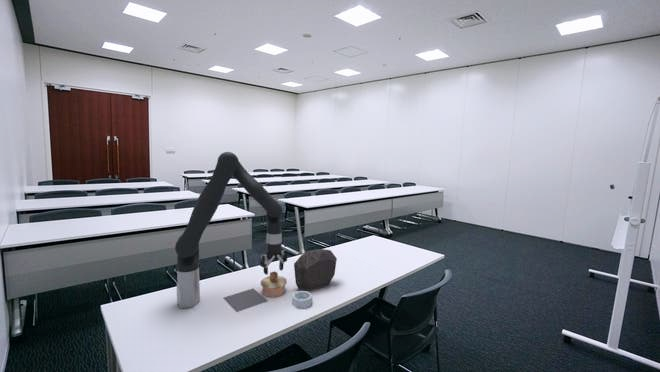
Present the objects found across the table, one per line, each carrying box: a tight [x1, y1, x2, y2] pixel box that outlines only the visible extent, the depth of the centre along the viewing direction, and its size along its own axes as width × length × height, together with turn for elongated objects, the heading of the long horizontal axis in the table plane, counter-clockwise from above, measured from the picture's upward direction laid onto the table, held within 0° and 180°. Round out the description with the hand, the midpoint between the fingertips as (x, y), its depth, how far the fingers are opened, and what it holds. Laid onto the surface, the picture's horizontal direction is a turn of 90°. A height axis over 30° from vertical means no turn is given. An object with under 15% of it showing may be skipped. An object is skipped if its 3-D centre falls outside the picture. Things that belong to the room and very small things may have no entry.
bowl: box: [262, 285, 286, 298], centre depth 158 cm, size 11×11×5 cm
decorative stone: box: [293, 248, 337, 291], centre depth 165 cm, size 24×9×20 cm, turn 123°
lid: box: [260, 271, 288, 289], centre depth 157 cm, size 13×13×5 cm
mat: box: [223, 288, 269, 313], centre depth 150 cm, size 16×16×1 cm
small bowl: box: [291, 290, 313, 310], centre depth 148 cm, size 9×9×4 cm
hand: (273, 272), depth 157 cm, fingers open, 8 cm apart
